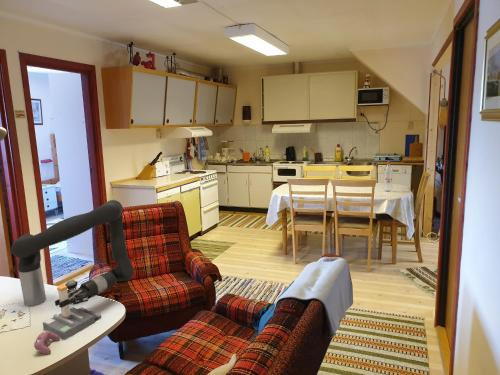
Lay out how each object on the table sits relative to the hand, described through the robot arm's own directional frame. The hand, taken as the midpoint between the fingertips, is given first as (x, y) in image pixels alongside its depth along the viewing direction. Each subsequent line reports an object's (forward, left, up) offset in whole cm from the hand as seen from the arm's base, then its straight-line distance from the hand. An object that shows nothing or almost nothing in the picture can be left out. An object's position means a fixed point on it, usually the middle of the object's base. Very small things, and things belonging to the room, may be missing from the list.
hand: (57, 304), depth 156 cm
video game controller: (+7, -10, -11) cm, 17 cm away
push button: (-17, +16, -11) cm, 26 cm away
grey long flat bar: (+1, +12, -11) cm, 16 cm away
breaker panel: (+1, +3, -11) cm, 11 cm away
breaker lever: (0, +3, -8) cm, 8 cm away
